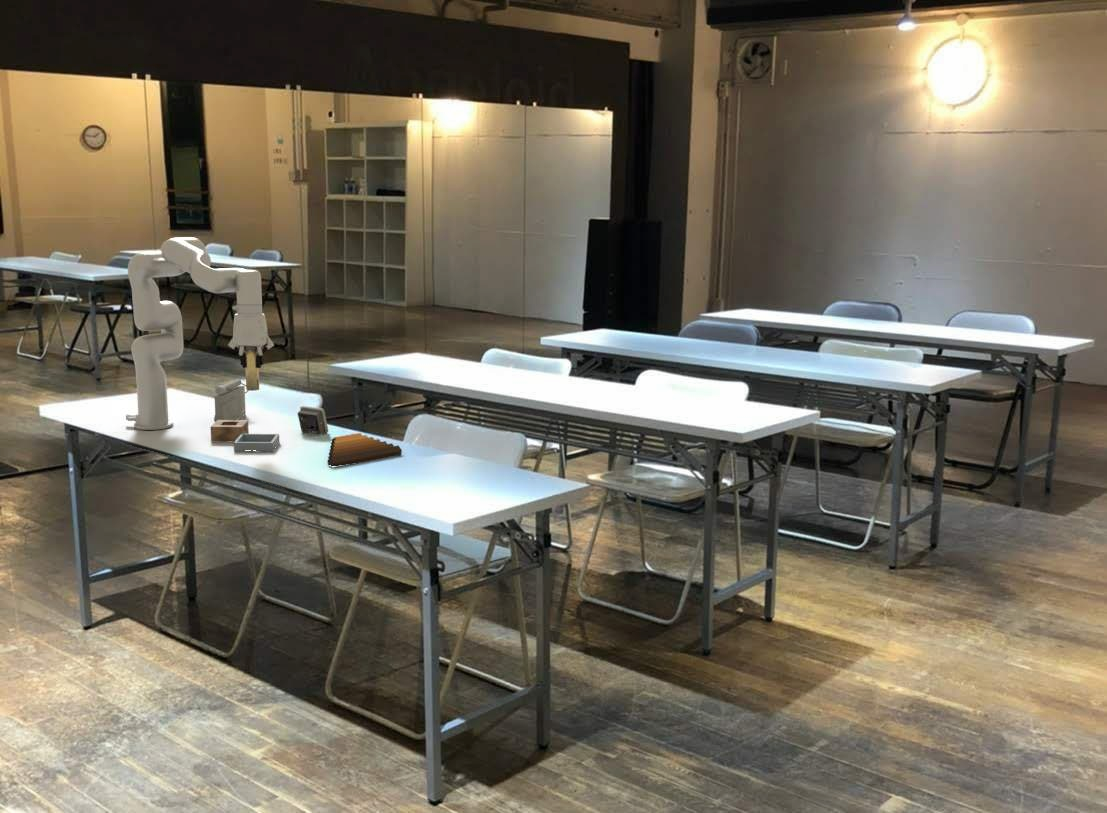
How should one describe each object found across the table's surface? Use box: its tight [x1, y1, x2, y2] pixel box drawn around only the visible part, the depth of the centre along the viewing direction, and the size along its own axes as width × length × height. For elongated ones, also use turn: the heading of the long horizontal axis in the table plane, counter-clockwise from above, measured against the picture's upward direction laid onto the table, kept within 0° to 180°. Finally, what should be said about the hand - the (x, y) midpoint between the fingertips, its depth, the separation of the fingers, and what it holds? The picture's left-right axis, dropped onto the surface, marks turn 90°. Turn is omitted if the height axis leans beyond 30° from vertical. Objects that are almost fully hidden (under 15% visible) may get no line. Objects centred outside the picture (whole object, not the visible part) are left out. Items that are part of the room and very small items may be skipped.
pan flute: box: [327, 432, 403, 466], centre depth 327 cm, size 25×3×25 cm
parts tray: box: [233, 433, 280, 452], centre depth 331 cm, size 12×12×3 cm
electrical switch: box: [297, 405, 329, 436], centre depth 351 cm, size 9×5×9 cm, turn 67°
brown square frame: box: [210, 419, 250, 442], centre depth 341 cm, size 10×10×5 cm
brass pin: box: [244, 346, 260, 392], centre depth 327 cm, size 4×4×14 cm
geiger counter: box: [213, 378, 249, 423], centre depth 363 cm, size 14×6×25 cm
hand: (252, 366), depth 327 cm, fingers closed on brass pin, 4 cm apart
